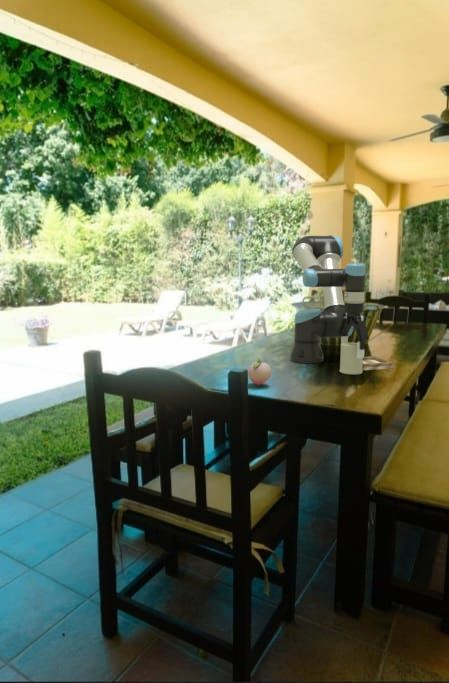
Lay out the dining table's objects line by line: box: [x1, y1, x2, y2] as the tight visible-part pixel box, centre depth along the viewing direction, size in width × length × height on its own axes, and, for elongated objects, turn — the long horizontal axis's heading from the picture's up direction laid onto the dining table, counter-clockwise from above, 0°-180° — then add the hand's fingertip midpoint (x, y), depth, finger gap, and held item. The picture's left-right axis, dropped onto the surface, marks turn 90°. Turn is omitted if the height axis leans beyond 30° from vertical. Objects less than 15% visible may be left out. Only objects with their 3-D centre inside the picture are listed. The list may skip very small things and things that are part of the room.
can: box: [339, 341, 364, 375], centre depth 186 cm, size 9×9×12 cm
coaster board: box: [362, 355, 394, 371], centre depth 197 cm, size 14×14×2 cm
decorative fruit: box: [247, 358, 272, 387], centre depth 165 cm, size 9×8×10 cm
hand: (352, 354), depth 185 cm, fingers open, 13 cm apart
